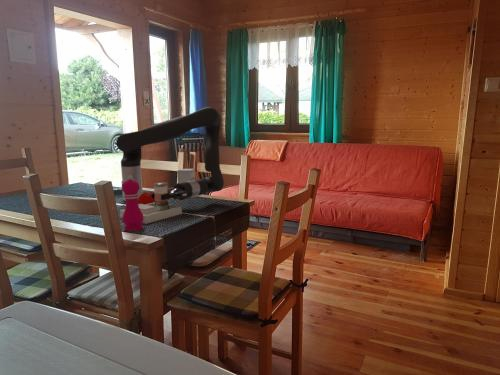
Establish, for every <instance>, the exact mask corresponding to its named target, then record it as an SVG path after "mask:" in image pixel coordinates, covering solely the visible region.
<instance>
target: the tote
mask: <svg viewBox="0 0 500 375" xmlns="http://www.w3.org/2000/svg"><path fill="white" fill-rule="evenodd" d="M145 205H150V206H155V202H154V203H150V204H145ZM182 210H183V209H182V206H180V205H176V204H175V205H174V204H170V203H169V209H168V210H164V211H160V212H156V213H152V214H148V215H143V218H144V220H143V222H142V223H141V224H146V225H147V224H150V223H153V222H157V221H160V220H164V219H168V218H172V217H175V216H179V215H182V214H183V211H182ZM124 211H125V209H119V214H120V215H119V217H120V218H121V219H122V217H123V214H124Z"/></svg>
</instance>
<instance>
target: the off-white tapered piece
mask: <svg viewBox="0 0 500 375" xmlns="http://www.w3.org/2000/svg"><path fill="white" fill-rule="evenodd" d="M138 206H139V208H140V210H141V212H142V214H143V215H148V214H152V213H156V212H157V208H155V206H150V205H144V204H138Z"/></svg>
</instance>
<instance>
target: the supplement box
mask: <svg viewBox="0 0 500 375" xmlns="http://www.w3.org/2000/svg"><path fill="white" fill-rule="evenodd" d="M194 180H196V178H195V168H181V169H178V170H177V183H181V182H186V181H194Z"/></svg>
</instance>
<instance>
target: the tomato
mask: <svg viewBox="0 0 500 375" xmlns="http://www.w3.org/2000/svg"><path fill="white" fill-rule="evenodd" d="M151 193H154V191H151V192H147V191H145V192H143V193H142V194H141V195H140V196H139V198H138V204H144V205H145V204H150V203H154V202H155V198H154V199H152V198H151Z"/></svg>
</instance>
